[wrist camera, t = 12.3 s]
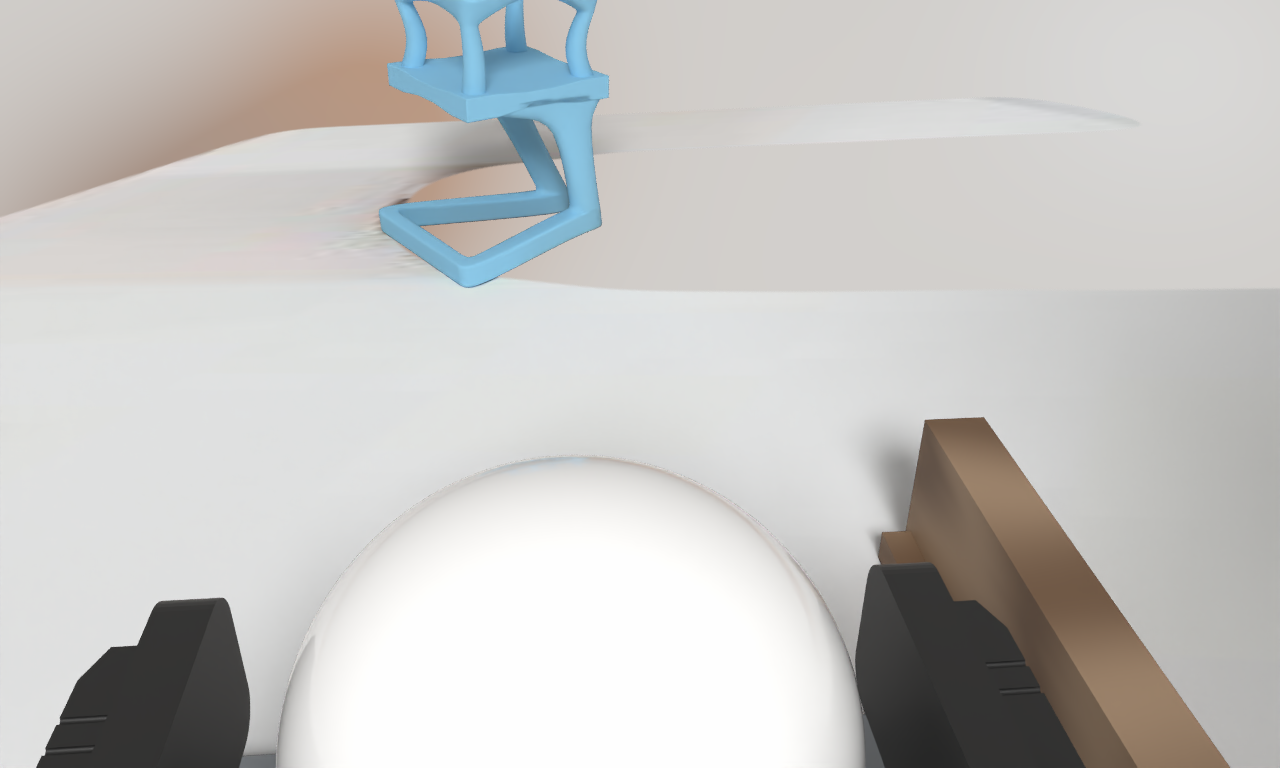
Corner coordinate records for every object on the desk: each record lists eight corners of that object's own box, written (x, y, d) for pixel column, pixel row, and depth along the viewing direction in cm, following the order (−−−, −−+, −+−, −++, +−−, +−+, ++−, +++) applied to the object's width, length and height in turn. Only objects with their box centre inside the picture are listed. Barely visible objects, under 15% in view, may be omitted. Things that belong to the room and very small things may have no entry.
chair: (635, 243, 46) (641, -56, 40) (464, 290, 42) (443, -39, 36) (537, 192, 52) (530, -80, 46) (377, 228, 47) (345, -67, 41)
